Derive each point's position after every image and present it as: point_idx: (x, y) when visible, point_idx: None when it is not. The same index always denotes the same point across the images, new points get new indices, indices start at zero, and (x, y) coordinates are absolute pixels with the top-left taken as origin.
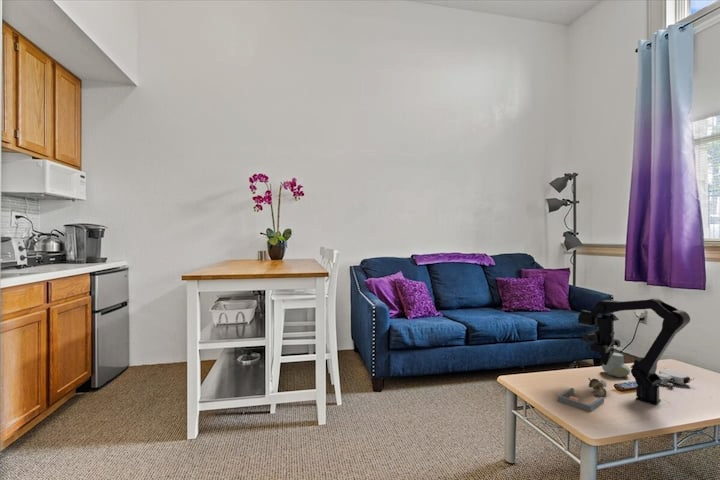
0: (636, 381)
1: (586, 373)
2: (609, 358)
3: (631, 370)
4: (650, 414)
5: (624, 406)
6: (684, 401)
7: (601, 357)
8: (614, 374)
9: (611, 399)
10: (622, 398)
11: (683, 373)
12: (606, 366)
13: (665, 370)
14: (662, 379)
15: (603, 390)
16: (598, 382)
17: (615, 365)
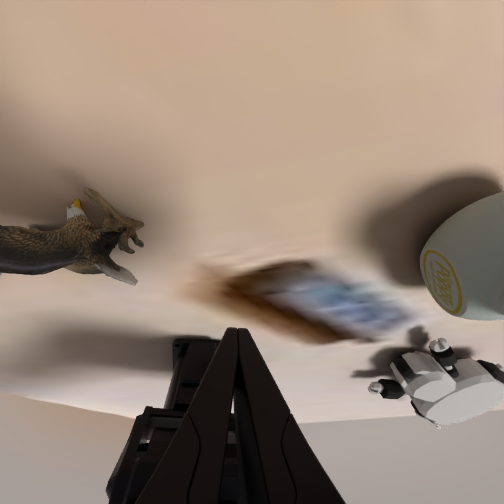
0: (137, 422)
1: (431, 94)
2: (236, 447)
3: (128, 482)
4: (77, 373)
5: (57, 325)
6: None
7: (189, 410)
8: (423, 253)
9: (80, 286)
10: (139, 309)
11: (469, 418)
12: (491, 230)
13: (495, 390)
14: (400, 382)
15: (77, 269)
16: (61, 262)
17: (484, 286)
